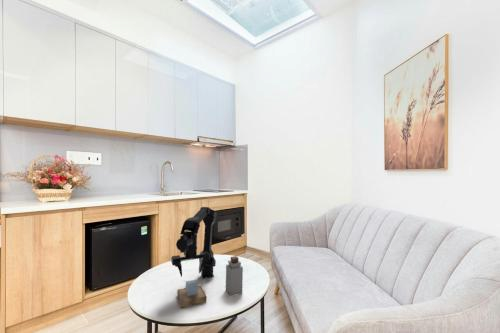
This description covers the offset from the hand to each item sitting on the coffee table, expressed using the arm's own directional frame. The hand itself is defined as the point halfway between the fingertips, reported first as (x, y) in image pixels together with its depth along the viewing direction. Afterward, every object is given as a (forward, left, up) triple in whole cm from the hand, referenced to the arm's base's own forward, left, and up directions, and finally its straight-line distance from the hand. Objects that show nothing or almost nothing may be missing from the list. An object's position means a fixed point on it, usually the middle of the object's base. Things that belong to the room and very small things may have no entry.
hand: (190, 274), depth 116 cm
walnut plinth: (0, +3, -11) cm, 11 cm away
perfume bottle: (-22, +5, -11) cm, 25 cm away
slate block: (0, +3, -8) cm, 8 cm away
